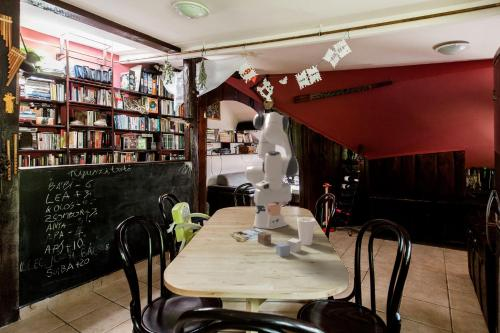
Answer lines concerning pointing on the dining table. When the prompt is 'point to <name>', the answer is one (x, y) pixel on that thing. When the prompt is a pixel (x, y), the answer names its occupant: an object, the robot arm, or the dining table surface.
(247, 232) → the dining table surface
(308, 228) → the foam cup
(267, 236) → the walnut cube
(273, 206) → the terracotta cube
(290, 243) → the pale grey cube
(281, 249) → the slate blue cube
